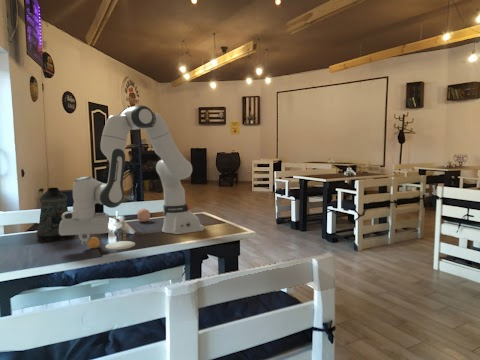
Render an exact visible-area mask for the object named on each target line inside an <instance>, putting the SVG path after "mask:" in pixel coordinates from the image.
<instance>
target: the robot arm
mask: <svg viewBox="0 0 480 360" xmlns="http://www.w3.org/2000/svg"><path fill="white" fill-rule="evenodd" d="M106 119H107V120H106V121H105V125H104V127H103V129H102V134H101V138H100V139H101V140H100V151H101V153H102V154H103V155H104V156H105V158H107V160H108V163H109V167H108V169H109V170H108V177H107V183H105V182H101V181H99V180H97V179H96V178H94V177H92V176H89V175H88V176H81V177H78V178H76V179H75V180H74V181H73V183H72V199H73V204H72V209H70V210H68V211H67V212H65V213H63V214H62V220H61V221H60V224H59V234H60V235H61V236H63V235H73V236H75V235H76V236H78V238H79V240H80V241H81V242H80V243H81V245H88V240H89V239H90V238H91V237H90V236H91V235H96V234H107V233H108V232H109V228H110V227H109V228H108V226H109V221H110V214H108V213H106V212H104V213H95V204H96V203H99V204H102V205H104V206H105V207H107V208H112V209H113V208H114V209H115V208H117V207H119V206H120V205H121V204H122V203H123V201H124V200H125V199H124V198H125V190H124V175H125V167H126V166H125V165H126V146H127V141H128V136H129V133H130V131H134V130H135V131H137V130H140V129H143V130H144V131H145V133H146V135H147V138H148V140H149V142H150V144H151V147H152V149H153V151H154V153H155V154H156V155H157V156H158V157H159V158H160V160H158V161H157V163H156V164H155V165H156V166H155V171H156V173H157V175H158V176H159V178H160V179H159V180H160V181H161V186H162V190H163V203H164V204H163V207H162V208H163V209H162V211H163V215H164V216H163V224H162V228H161V231H162V232H163V233H166V234H173V235H181V234H189V233H196V232H202V231H205V226H204V225H202V224H201V222H200V219H199V217H198V216H197V215H196V214H194V213H193V212H191V211H190V209H191V205H189V204H187V203H186V191H185V188H184V186H183V185H182V183H181V180H184V179H187V178H189V177H190V176H191V175H192V173H193V165H192V163H191V162H190V161H189V160H187V159H186V157H185V156H184V154H182V153H181V151H180V150H179V148H178V146H177V145H176V143H175V140H174V138H173V137H172V134H171V131H170V129H169V127H168V125H167V123H166V121H165V120H164V118H163V117H162V115H161V114H160V113H156V112H153V110H151V108H150V107H149V106H146V105H142V104H141V105H133V106H130V107H128V108H124V109H122V111H120V112H119V113H118V114H113V115H109V116H108V118H106ZM84 235H86V239H84V238H83V236H84Z"/></svg>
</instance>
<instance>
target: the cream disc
mask: <svg viewBox="0 0 480 360" xmlns="http://www.w3.org/2000/svg"><path fill="white" fill-rule="evenodd" d="M134 246H136V243H135V242H134V241H130V240H122V241H121V240H119V241H114V242H110V243H107V244H106V245H105V249H108V250H112V251H113V250H114V251H116V250H119V251H120V250H126V249H130V248H132V247H134Z"/></svg>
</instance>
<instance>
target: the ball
mask: <svg viewBox="0 0 480 360" xmlns="http://www.w3.org/2000/svg"><path fill="white" fill-rule="evenodd" d="M87 245H88V248H89V249H90V248H91V249H97V248H98V247H99V246H100V240H99V238H98V237H96V236H93V237H89V239H88V244H87Z"/></svg>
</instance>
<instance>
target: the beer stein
mask: <svg viewBox="0 0 480 360" xmlns="http://www.w3.org/2000/svg"><path fill="white" fill-rule="evenodd" d="M67 200H68V196H67V195H66V194H65V193H64V192H62V191H61V190H59V188H58V187H49V188H48V189H47V190H46V191H45V192H44V193H43V194H42V195H41V196H40V197H39V202H40V204H41V205H40V213H39V222H38V227H37V231H36V237H37V240H38V241H40V242H45V243H46V242H50V243H51V242H57V241H64V240H68V239H70V238H73V236H74V235H63V236H61V235H60V234H59V224H60V221H61V220H62V214H63V213H65V212H67V211H69V209H68V205H67Z"/></svg>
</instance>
